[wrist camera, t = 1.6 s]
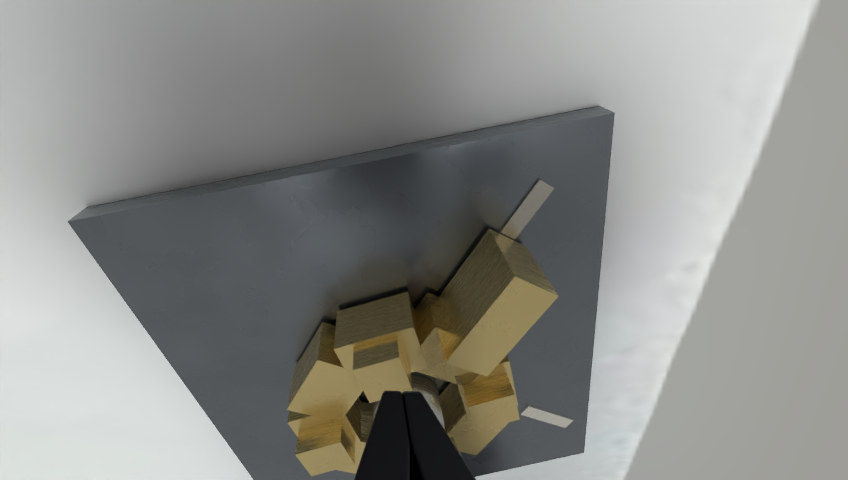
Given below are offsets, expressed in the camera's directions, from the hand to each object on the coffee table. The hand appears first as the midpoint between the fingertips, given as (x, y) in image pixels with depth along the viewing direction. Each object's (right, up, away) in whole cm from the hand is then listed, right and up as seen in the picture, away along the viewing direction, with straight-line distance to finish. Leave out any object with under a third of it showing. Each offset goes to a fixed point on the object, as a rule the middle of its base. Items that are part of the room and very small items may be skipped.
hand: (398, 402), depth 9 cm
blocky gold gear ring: (+1, -1, +9) cm, 9 cm away
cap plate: (-1, -2, +10) cm, 10 cm away
